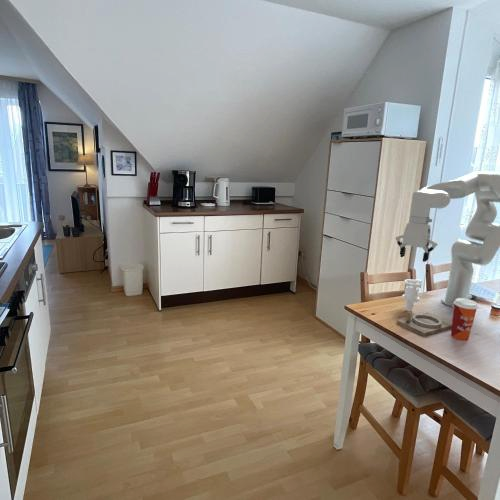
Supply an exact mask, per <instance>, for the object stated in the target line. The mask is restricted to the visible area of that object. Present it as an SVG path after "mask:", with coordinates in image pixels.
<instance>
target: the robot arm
mask: <svg viewBox="0 0 500 500" xmlns="http://www.w3.org/2000/svg"><path fill="white" fill-rule="evenodd" d="M471 194H474V195H475V196H474V197H475V199H476V211H474V212H475V213H474V214H473V216H472V218H471V219H470V221H469V223H468V225H467V227H466V228H465V229H466V230H465V236H466V237H467V239H459V240H456V241H455V242H454V243H453V244H452V246H451V251H450V252H451V264H450V269H449V275H448V279H447V280H448V282H447V287H446V292H445V296H442V297H441V299H440V301H441V303H443V304H445V305H446V306H449V307H452V308H454V301H455V300H456V299H457V298H465V299H469V300H470V299H472V298H473V295H472V294H470V291H471V286H472V280H473V275H474V266H473V264H475V265H478V266H486V265H487V266H488V265H489V264H490V263H491V262H492V261H493V259H494V257H495V256H496V254H497V252H498V251H499V248H500V223H496V222H495V220H496V218H497V215H498V210H497V207H496V204H495V203H500V173H499V172H495V171H474V172H471V173H469V174H467V175H463V176H461V177H458V178H457V179H453V180H448V181H443V182H438V183H433V184H430V185H427V186H425V187H423V188H421V189H419V190H415V191H413V193H412V195H411V204H410V210H409V217H408V218H409V219H408V221H407V222H406V226H405V228H404V231H403V234H402V235H399V236H398V235H397V236H396V237H395V240H396V244H397V245H398V247H399V249H400V250H399V256H400V258H403V257H405V256H406V250H407V248H406V246H410V247H415V248H421V249H423V251H424V252H423V255H422V262H424V263H425V262H428V260H429V257H430V253H431V252H432V251H434V250H435V249H436V247H437V246H438V243H437V242H435V241H434V240H433V239H431V224H430V223H432V222H433V219H432V218H431V217H430V212H431V209H438V210H439V209H444V208H446V207H448V206H449V205H450V202H451V200H455V199H463V198H466V197H467V196H469V195H471ZM401 239H402V241H401ZM468 239H470V240H468ZM472 240H473V241H472ZM475 241H477V242H475ZM430 244H431V247H429V246H430Z"/></svg>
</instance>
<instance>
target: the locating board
mask: <svg viewBox="0 0 500 500" xmlns="http://www.w3.org/2000/svg"><path fill="white" fill-rule="evenodd" d="M406 312H407V313H406V317H404V318H401V319H397V321H396V324H397V325H400V326H401V327H404V328H406V329H408V330H410V331H412V332H414V333H416V334H418V335H420V336H422V337H427V336H431V335H434V334H438V333H441V332H444V331H447V330H448V331H449V330H451V329H452V321H450V320H448V319H445V318H443V317H441V316H439V315H435V314H433V313H431V312H423V313H414V314H413V315H412V311H411V312H410V311H406Z"/></svg>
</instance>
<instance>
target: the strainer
mask: <svg viewBox="0 0 500 500" xmlns="http://www.w3.org/2000/svg"><path fill="white" fill-rule="evenodd" d="M404 284H405V288H404V289H405V290H404V294H402V299H403V300H404V301H406V303H405V309H404V310H405V311H406V312H411V313H412V312H413V311H414V310H413V308H414V303H417V302H420V297H419V291H420V289H422V285H423V280H422V279H418V278H417V279H412V278H411V279H410V278H409V279H404Z"/></svg>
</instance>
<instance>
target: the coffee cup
mask: <svg viewBox="0 0 500 500" xmlns="http://www.w3.org/2000/svg"><path fill="white" fill-rule="evenodd" d="M478 309H479V306H478V303H477V302H476V301H475V300H471V299H470V298H469V299H465V298H457V299H456V300H455V301H454V307H453V313H452V321H451V322H452V328H451V329H450V331H451V332H450V336H451V337H452V338H453V339H455V340H458V341H462V342H463V341H465V342H466V341H468V340H469V338H470V334H471V330H472V328H473V325H474V320H475V317H476V312H477V310H478Z"/></svg>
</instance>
